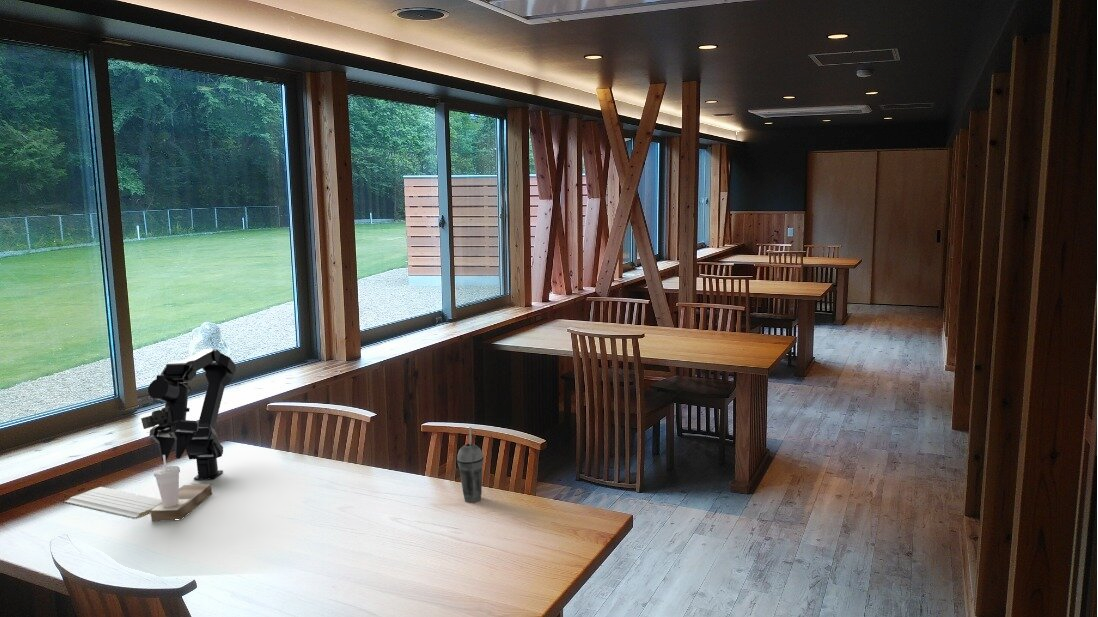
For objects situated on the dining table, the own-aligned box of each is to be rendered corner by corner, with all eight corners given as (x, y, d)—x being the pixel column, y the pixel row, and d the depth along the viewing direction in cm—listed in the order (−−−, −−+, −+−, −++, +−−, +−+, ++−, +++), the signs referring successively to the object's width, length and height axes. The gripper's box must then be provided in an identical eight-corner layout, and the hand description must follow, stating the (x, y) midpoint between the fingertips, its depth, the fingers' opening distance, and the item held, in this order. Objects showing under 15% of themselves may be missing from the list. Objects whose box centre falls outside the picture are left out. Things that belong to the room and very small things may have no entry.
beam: (184, 494, 224) (183, 484, 224) (212, 494, 224) (210, 483, 224) (150, 521, 206) (149, 510, 205) (180, 520, 206) (178, 509, 205)
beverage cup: (454, 503, 209) (449, 431, 206) (467, 493, 215) (462, 423, 212) (478, 506, 206) (474, 433, 203) (490, 495, 213) (486, 425, 210)
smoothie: (153, 510, 206) (147, 459, 204) (163, 500, 212) (157, 451, 210) (178, 508, 206) (172, 457, 204) (187, 498, 212) (181, 449, 210)
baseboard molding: (130, 522, 208) (170, 506, 218) (129, 512, 207) (169, 496, 218) (60, 506, 222) (100, 491, 232) (59, 496, 221) (99, 482, 232)
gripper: (133, 406, 222) (127, 461, 218) (160, 397, 210) (154, 455, 206) (173, 409, 230) (167, 463, 226) (201, 401, 218) (196, 457, 214)
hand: (170, 460), depth 218 cm, fingers open, 9 cm apart
